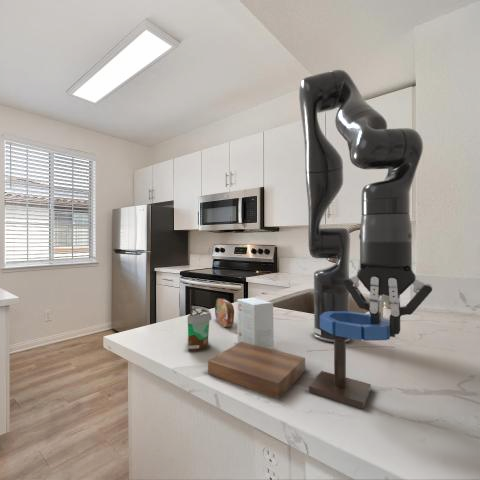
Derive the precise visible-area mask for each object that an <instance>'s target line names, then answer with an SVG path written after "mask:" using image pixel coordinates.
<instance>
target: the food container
mask: <svg viewBox="0 0 480 480" xmlns="http://www.w3.org/2000/svg"><path fill="white" fill-rule="evenodd" d="M210 321H212V313H211V311H210V309H209V308H206V307H203V306H197V305H191V311H190V313H189V315H187V345H188V347H187V348H188V349H187V350H188V352H190V353H191V352H192V353H193V352H200V351H204V350H206V349H207V348H208V346H209V334H210V333H209V332H210Z"/></svg>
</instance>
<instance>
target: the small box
mask: <svg viewBox="0 0 480 480" xmlns="http://www.w3.org/2000/svg"><path fill="white" fill-rule="evenodd" d="M236 304H237V305H236V306H237V307H236V308H237V309H236V310H237V311H236V312H237V314H236V315H237V317H236V318H237V323H236V324H237V325H236V327H237V329H236V330H237V331H236V332H237V344H238V343H240V342H245V343H249V344H253V345H257V346H261V347H265V348H269V349H273V350H275V344H274V337H275V336H274V334H275V333H274V302H271V301H268V300H263V299H261V298H257V297H249V298H248V297H247V298H237V299H236Z"/></svg>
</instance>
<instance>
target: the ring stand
mask: <svg viewBox="0 0 480 480" xmlns="http://www.w3.org/2000/svg"><path fill="white" fill-rule="evenodd" d="M371 391H372V384H371V383H368V382H364V381H361V380H357V379H353V378H350V377H347V342H346V341H345V340H343V339H334V343H333V373H332V372H327V371H324V370H321V371H319V373H318V374H317V376H315V378H314V379H313V381H312V382H311V383H310V384H309V385H308V392H309V393H310V394H311V393H312V394H315V395H318V396H320V397H323V398H327V399H331V400H333V401H336V402H339V403H342V404H345V405H348V406H352V407H354V408H357V409H360V410H363V409H364V407H365V406H366V403H367V401H368V398H369V395H370V393H371Z"/></svg>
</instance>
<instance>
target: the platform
mask: <svg viewBox="0 0 480 480" xmlns="http://www.w3.org/2000/svg"><path fill="white" fill-rule="evenodd" d="M305 372H306V357H304V356H301V355H296V354H292V353H288V352H284V351H281V350H276V349H274V350H273V349H269V348H265V347H261V346H257V345H253V344H249V343H245V342H240V343H238V342H237V343H236V344H235V345H233V346H231V347H230V348H227V349H226V350H224V351H222V352H220V353H219V354H216V355H215V356H213V357H212V358H210V359H208V360H207V374H209V375H211V376H214V377H217V378H220V379H223V380H224V381H228V382H230V383H233V384H236V385H239V386H242V387H245V388H247V389H250V390H252V391H256V392H258V393H261V394H264V395H266V396H269V397H272V398H276V399H278V400H279V399H280V398H281V397H282V396H283V395H284V394H285V393H286V392H287V391H288V390H289V389H290V387H292V385H293V384H294V383H295V382H296V381H297V380H298V379H299V378H300V377H301V376H302V375H303V374H304V373H305Z"/></svg>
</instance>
